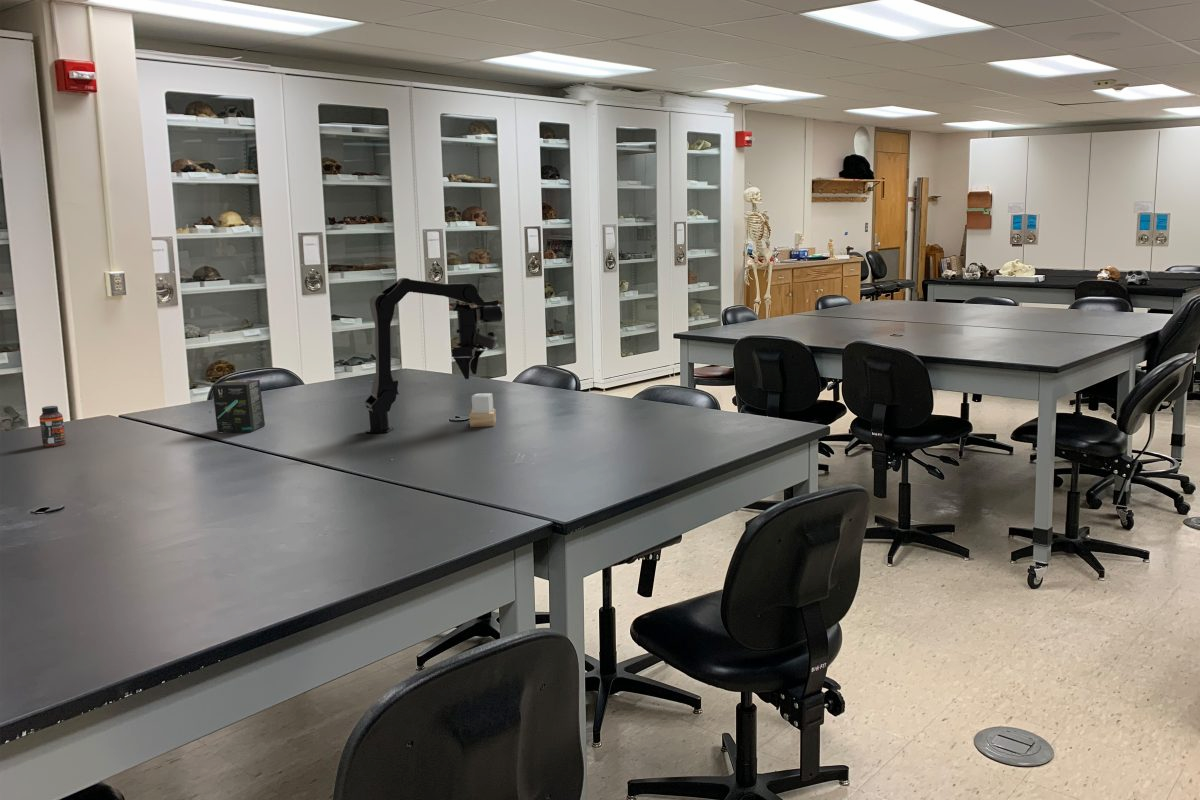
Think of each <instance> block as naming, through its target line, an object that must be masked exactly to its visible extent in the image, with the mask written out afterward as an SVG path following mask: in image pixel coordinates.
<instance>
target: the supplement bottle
mask: <svg viewBox="0 0 1200 800" xmlns="http://www.w3.org/2000/svg"><path fill="white" fill-rule="evenodd" d="M41 412H42V413H41V415H39V425H40V426H39V427H40V434H41V438H42V439H41V440H42V445H43V447H47V448H53V446H54V447H59V446H60V445H61V446H63V444H64V445H65V444H66V443H67V439H66V436H67V435H66V430H65V424H64V416H63V414H62V413H61V412H60V411H59V407H58V405H47V406H42V408H41Z"/></svg>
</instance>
